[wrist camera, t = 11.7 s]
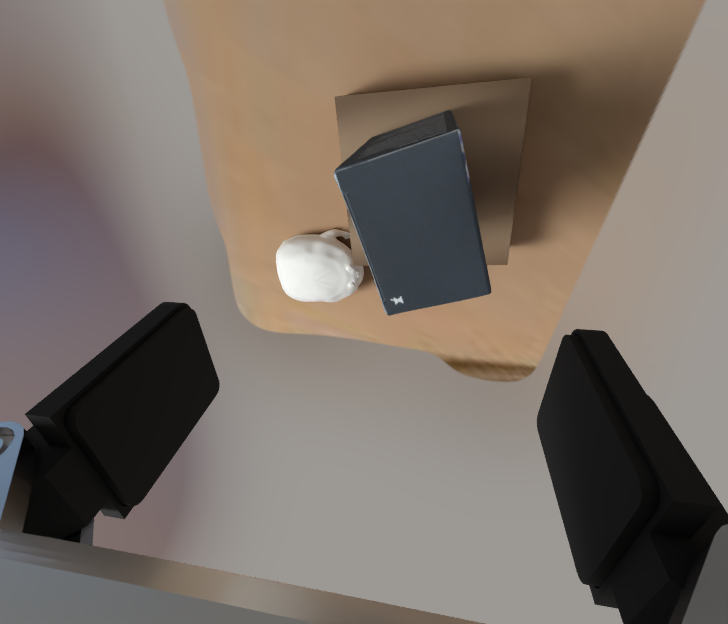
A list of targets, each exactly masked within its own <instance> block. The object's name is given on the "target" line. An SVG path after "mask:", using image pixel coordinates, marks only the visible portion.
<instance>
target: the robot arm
mask: <svg viewBox="0 0 728 624" xmlns="http://www.w3.org/2000/svg"><path fill="white" fill-rule="evenodd" d="M218 391H219V380H218V377H217V374H216V371H215V368H214V365H213V362H212V359H211V356H210V353H209V350H208V348H207V344H206V341H205V339H204V336H203V333H202V330H201V327H200V324H199V321H198V318H197V315H196V313H195V311H194V310H193V309H191V308H190V306H188V304H185V303H175V302H163V303H161V304H160V305H159V306H157V307H156V308H155V309H154V310H152V311H151V312H150V313H149V314H147V315H146V316H145V317H144V318H143V319H142V320H140V321H139V322H138V323H136V324H135V325H134V326H133V327H131V328H130V329H129V330H128V331H127V332H125V333H124V334H123V335H122V336H120V337H119V338H118V339H117V340H115V341H114V342H113V343H112V344H111V345H109V346H108V347H107V348H106V349H104V350H103V351H102V352H101V353H99V354H98V355H97V356H96V357H95V358H93V359H92V360H91V361H90V362H88V363H87V364H86V365H85V366H84V367H82V368H81V369H80V370H79V371H77V372H76V373H75V374H74V375H72V376H71V377H70V378H69V379H67V380H66V381H65V382H64V383H63V384H61V385H60V386H59V387H58V388H56V389H55V390H54V391H53V392H52V393H50V394H49V395H48V396H47V397H45V398H44V399H43V400H42V401H41V402H39V403H38V404H37V405H36V406H34V407H33V408H32V409H31V410H30V411H28V412H27V413H26V414H25V415H26V416H27V418H28V419H29V420H30V421H31V423H32V424H33V425H34V426H32V427H31V428H30V429H29V430H28V431H26V430H25V429H24V428H23V427H22V426H21V425H20V424H19V423H16V422H12V421H9V422H0V624H484V623H479V622H474V621H469V620H464V619H459V618H454V617H449V616H445V615H440V614H435V613H430V612H425V611H420V610H415V609H410V608H405V607H400V606H395V605H390V604H385V603H380V602H376V601H371V600H365V599H361V598H355V597H351V596H346V595H341V594H336V593H331V592H326V591H321V590H316V589H311V588H306V587H301V586H296V585H291V584H286V583H281V582H276V581H271V580H266V579H261V578H256V577H251V576H246V575H240V574H236V573H231V572H225V571H220V570H215V569H210V568H205V567H200V566H195V565H190V564H185V563H180V562H174V561H170V560H164V559H159V558H154V557H148V556H144V555H138V554H133V553H128V552H122V551H117V550H112V549H107V548H102V547H96V546H93V529H94V517H95V516H96V514H97V513H98V512H99V510H101V512H102V513H103V514H104V515H105V516H110V517H116V518H121V519H125V518H126V516H127V515H128V514H129V512H130V511H131V509H132V508H133V507H134V506H135V505H138V504H139V503H140V502H141V501H142V500H143V499H144V498H145V496H146V495H147V493H148V492H149V490H150V489H151V488H152V486H153V485H154V483H155V482H156V480H157V479H158V478H159V476H160V475H161V473H162V472H163V471H164V469H165V468H166V466H167V465H168V463H169V462H170V461H171V459H172V458H173V456H174V455H175V453H176V452H177V451H178V449H179V448H180V446H181V445H182V443H183V442H184V441H185V439H186V438H187V436H188V435H189V433H190V432H191V431H192V429H193V428H194V426H195V425H196V424H197V422H198V421H199V419H200V418H201V416H202V415H203V413H204V412H205V411H206V409H207V408H208V406H209V405H210V404H211V402H212V401H213V399H214V398H215V396H216V395H217V393H218ZM537 428H538V433H539V436H540V440H541V444H542V447H543V451H544V454H545V458H546V462H547V465H548V469H549V472H550V476H551V479H552V483H553V487H554V491H555V494H556V498H557V501H558V505H559V509H560V512H561V516H562V520H563V523H564V527H565V530H566V534H567V537H568V541H569V544H570V548H571V552H572V555H573V559H574V563H575V567H576V570H577V573H578V576H579V578H580V580H581V582H582V583H583V584H586V585H589V586H590V589H591V593H592V596H593V599H594V603H595V604H596V605H601V606H607V607H613V608H618V609H619V612H620V615H621V618H622V621H623V623H624V624H728V513H727V512H726V511H725V509H724V507H723V506H722V504H721V503H720V501H719V500H718V498H717V497H716V495H715V494H714V492H713V491H712V489H711V488H710V486H709V485H708V483H707V482H706V480H705V478H704V477H703V475H702V474H701V472H700V471H699V469H698V468H697V466H696V465H695V463H694V462H693V460H692V459H691V457H690V456H689V454H688V453H687V451H686V450H685V449H684V447H683V445H682V444H681V442H680V441H679V439H678V437H677V436H676V434H675V433H674V431H673V430H672V428H671V427H670V425H669V424H668V422H667V421H666V419H665V418H664V416H663V415H662V413H661V412H660V410H659V409H658V407H657V406H656V404H655V402H654V401H653V400H652V399H651V398H650V397H649V396H648V395H647V394H646V393H645V391H644V390H643V388H642V387H641V385H640V384H639V382H638V380H637V379H636V377H635V376H634V374H633V373H632V371H631V370H630V368H629V367H628V365H627V364H626V362H625V361H624V359H623V358H622V356H621V354H620V353H619V351H618V350H617V348H616V347H615V345H614V344H613V342H612V341H611V339H610V338H609V336H608V334H607V333H606V332H604V331H598V330H582V329H576V330H574V331H573V332H572V334H571V335H565V336H564V337H563V339H562V341H561V344H560V347H559V350H558V353H557V357H556V360H555V363H554V366H553V369H552V372H551V375H550V378H549V382H548V384H547V388H546V391H545V394H544V397H543V400H542V403H541V406H540V409H539V412H538V417H537Z"/></svg>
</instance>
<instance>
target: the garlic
mask: <svg viewBox="0 0 728 624" xmlns="http://www.w3.org/2000/svg"><path fill="white" fill-rule="evenodd" d="M338 236H342V237H344V238H345V240H346V239H347V238H350V233H349V232H345V231H342V230H338V229H332V230H329V231H326V232H324V233H322V234H320V235H315V234H308V235H296V236H293V237H291V238H289V239H287V240H285V241H284V242H283V243H282V245H281V246H280V247H279V249H278V251H277V253H276V264H277V271H278V276H279V279H280V282H281V285H282V287H283V289H284V291H285V292H286V294H287V295H288V296H290V297H292V298H294V299H296V300H299V301H305V302H318V301H325V302H336V301H339V300H341V299H343V298H345V297H347V296H349V295H351V294H352V293H353V292H354V291H355V290H357V289H358V288H357V287H358V286H359V285H360V283H361V282H362V280H363V276H364V269H363V266H353V259H352V250H351V249H350V248H348V247H347V246H346V245H345V244H343V243H342V242H340V241H339V240H337V239H336V237H338Z"/></svg>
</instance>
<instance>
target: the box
mask: <svg viewBox="0 0 728 624" xmlns="http://www.w3.org/2000/svg"><path fill="white" fill-rule="evenodd" d="M334 178H335V180H336V182H337V184H338V186H339V189H340V191H341V193H342V196H343V198H344V201H345V203H346V206H347V208H348V210H349V213H350V216H351V219H352V222H353V224H354V227H355V229H356V232H357V234H358V237H359V239H360V242H361V245H362V248H363V251H364V253H365V256H366V259H367V261H368V264H369V267H370V270H371V272H372V275H373V278H374V281H375V284H376V286H377V289H378V292H379V295H380V298H381V301H382V304H383V307H384V310H385V312H386V314H387V315H394V314H398V313H402V312H407V311H412V310H417V309H422V308H427V307H432V306H437V305H442V304H447V303H452V302H457V301H462V300H466V299H471V298H475V297H479V296H483V295H487V294H490V293H491V286H490V281H489V275H488V270H487V264H486V259H485V254H484V249H483V243H482V238H481V232H480V227H479V222H478V217H477V212H476V206H475V201H474V196H473V191H472V186H471V181H470V176H469V172H468V167H467V162H466V157H465V152H464V147H463V141H462V136H461V132H460V129H459V128H458V126H457V123H456V121H455V119H454V116H453V114H452V112H451V110H447V111H444V112H441V113H439V114H436V115H433V116H430V117H427V118H425V119H422V120H419V121H416V122H413V123H411V124H408V125H405V126H402V127H399V128H397V129H394V130H391V131H388V132H386V133H383V134H379V135H377V136H374V137H371V138H370V139H369V140H368V141H367V142H366V143H365V144H364V145H362V146H361V147H360V148H359V149H357V151H356V152H354V153H353V154H352V155H351V156H350V157H349V158H348V159H346V160H345V161H344V162H343V163H342V164H341V165H340V166H339V167H338V168H337V169H336V170H335V172H334Z"/></svg>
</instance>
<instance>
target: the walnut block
mask: <svg viewBox="0 0 728 624" xmlns="http://www.w3.org/2000/svg"><path fill="white" fill-rule="evenodd" d="M531 81H532V77H529V78H516V79H506V80H496V81H486V82H476V83H466V84H455V85H445V86H435V87H425V88H415V89H405V90H395V91H384V92H374V93H364V94H354V95H344V96H337V97H335V104H336V113H337V122H338V132H339V141H340V150H341V159H342V163H343V162H344V161H345V160H346V159H348V158H349V157H350V156H351V155H352V154H353V153H354V152H356V151H357V149H359V148H360V147H361V146H362V145H364V144H365V143H366V142H367V141H368V140H369V139H370V138H371V137H374V136H377V135H379V134H383V133H386V132H388V131H391V130H394V129H397V128H399V127H402V126H405V125H408V124H411V123H413V122H416V121H419V120H422V119H425V118H427V117H430V116H433V115H436V114H439V113H441V112H444V111H447V110H451V112H452V114H453V116H454V119H455V121H456V123H457V126H458V128H459V129H460V132H461V136H462V141H463V147H464V152H465V157H466V162H467V167H468V172H469V176H470V181H471V186H472V191H473V196H474V201H475V206H476V212H477V217H478V222H479V227H480V232H481V238H482V243H483V249H484V254H485V259H486V264H487V265H507V263H508V256H509V248H510V240H511V233H512V225H513V218H514V210H515V202H516V195H517V187H518V180H519V172H520V164H521V157H522V149H523V142H524V134H525V126H526V119H527V111H528V103H529V96H530V88H531ZM347 214H348V223H349V232H350V241H351V250H352V259H353V266H369V264H368V261H367V259H366V256H365V253H364V251H363V248H362V245H361V242H360V239H359V237H358V234H357V232H356V229H355V227H354V224H353V222H352V219H351V216H350V213H349V210H348V208H347Z"/></svg>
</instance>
